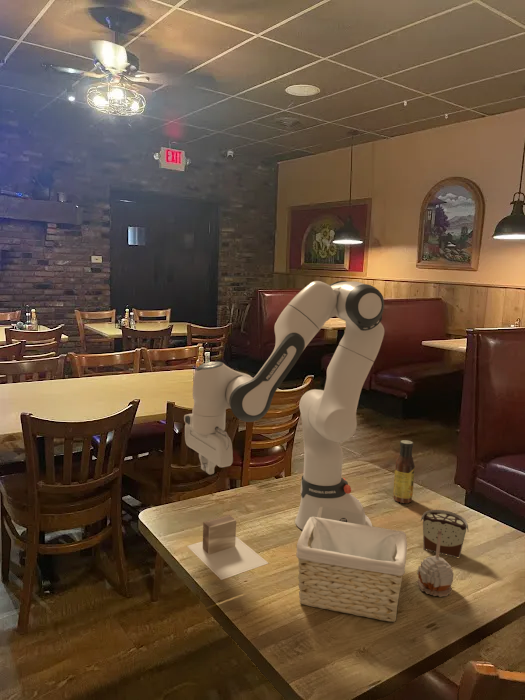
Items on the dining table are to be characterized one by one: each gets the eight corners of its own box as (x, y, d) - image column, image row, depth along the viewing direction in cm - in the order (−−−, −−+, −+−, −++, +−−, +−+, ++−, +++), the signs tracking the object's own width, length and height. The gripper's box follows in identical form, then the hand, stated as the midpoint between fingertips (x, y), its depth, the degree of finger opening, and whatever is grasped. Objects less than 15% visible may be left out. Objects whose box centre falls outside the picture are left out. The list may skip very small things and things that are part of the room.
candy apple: (438, 577, 137) (444, 521, 134) (457, 596, 129) (464, 537, 127) (411, 581, 135) (416, 524, 132) (428, 600, 127) (434, 540, 125)
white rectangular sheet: (186, 547, 146) (186, 545, 146) (231, 533, 154) (231, 532, 153) (221, 581, 131) (221, 579, 131) (268, 564, 139) (268, 563, 139)
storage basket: (291, 606, 123) (294, 545, 121) (305, 568, 139) (308, 513, 136) (400, 629, 117) (406, 566, 114) (402, 587, 132) (408, 530, 130)
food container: (467, 549, 151) (471, 515, 149) (465, 559, 145) (469, 524, 144) (421, 538, 156) (424, 505, 154) (417, 547, 150) (421, 513, 149)
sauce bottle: (414, 504, 177) (419, 446, 174) (394, 503, 177) (400, 445, 174) (409, 496, 183) (414, 439, 180) (390, 495, 183) (395, 438, 180)
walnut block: (202, 548, 145) (203, 522, 143) (228, 540, 149) (229, 514, 148) (209, 554, 142) (209, 527, 141) (235, 546, 146) (236, 520, 145)
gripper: (239, 431, 139) (237, 482, 142) (201, 411, 156) (200, 457, 158) (218, 435, 136) (216, 487, 138) (181, 414, 152) (180, 461, 154)
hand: (207, 471), depth 148 cm, fingers closed
